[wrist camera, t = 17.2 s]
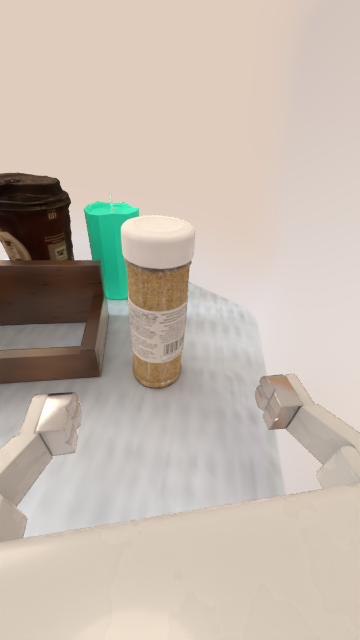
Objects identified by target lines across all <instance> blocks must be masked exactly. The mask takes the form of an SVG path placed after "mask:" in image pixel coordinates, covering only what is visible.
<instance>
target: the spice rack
mask: <svg viewBox="0 0 360 640" xmlns="http://www.w3.org/2000/svg"><path fill="white" fill-rule="evenodd" d="M108 317H109V313H108V306H107V299H106V292H105V285H104V278H103V271H102V264H101V260H91V261H90V260H0V325H13V324H40V323H68V322H86V326H85V330H84V334H83V339H82V343H81V346H74V347H55V348H35V349H15V350H0V383H14V382H28V381H42V380H56V379H71V378H85V377H99V376H101V369H102V361H103V354H104V346H105V339H106V332H107V324H108Z"/></svg>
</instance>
